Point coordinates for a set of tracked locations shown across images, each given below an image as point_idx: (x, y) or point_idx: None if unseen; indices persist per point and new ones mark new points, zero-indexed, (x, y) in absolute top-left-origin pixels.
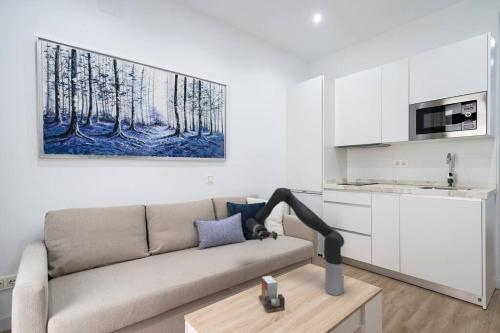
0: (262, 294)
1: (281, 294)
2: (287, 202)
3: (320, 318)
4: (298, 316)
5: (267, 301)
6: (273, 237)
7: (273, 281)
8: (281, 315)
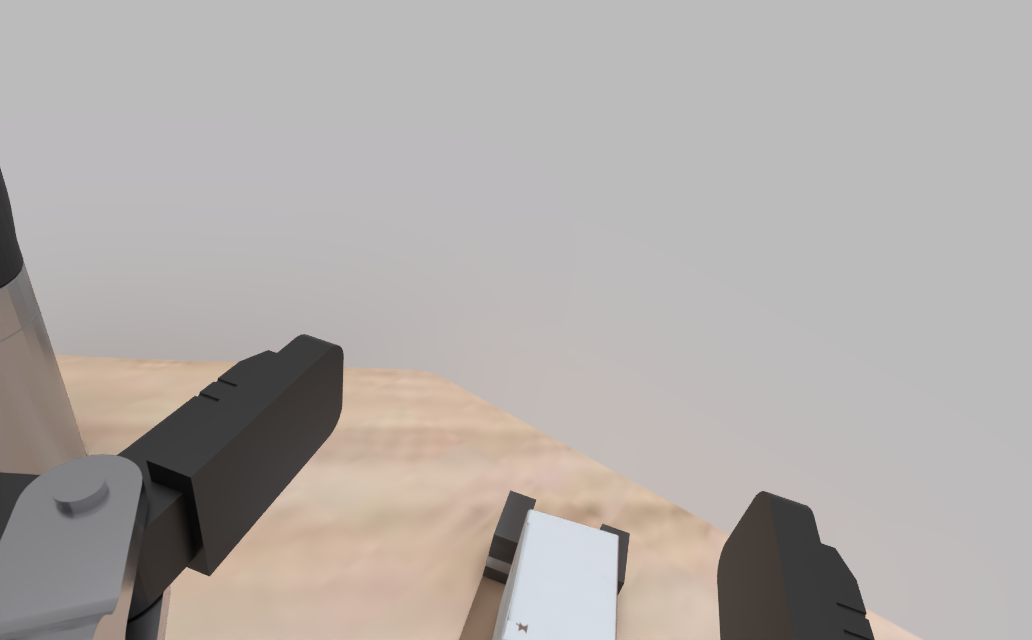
0: None
1: (498, 529)
2: None
3: (394, 407)
4: (469, 466)
5: (627, 537)
6: (242, 507)
7: (555, 529)
8: None
